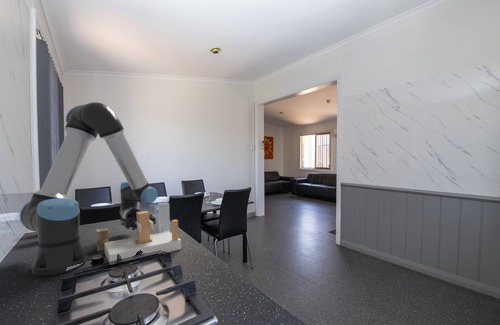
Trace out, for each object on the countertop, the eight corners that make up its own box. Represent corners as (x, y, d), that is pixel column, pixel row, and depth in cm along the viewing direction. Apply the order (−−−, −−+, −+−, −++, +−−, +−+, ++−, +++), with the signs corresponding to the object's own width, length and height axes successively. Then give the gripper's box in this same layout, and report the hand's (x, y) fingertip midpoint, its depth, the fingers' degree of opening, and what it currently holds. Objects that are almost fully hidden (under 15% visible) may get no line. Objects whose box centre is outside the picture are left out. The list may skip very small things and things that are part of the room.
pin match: (139, 243, 98) (138, 213, 98) (137, 241, 101) (136, 212, 101) (149, 241, 100) (149, 212, 100) (147, 239, 104) (146, 210, 103)
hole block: (109, 266, 87) (108, 232, 86) (104, 252, 99) (103, 223, 99) (181, 249, 102) (180, 220, 102) (168, 239, 115) (168, 213, 115)
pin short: (97, 251, 101) (97, 231, 101) (96, 248, 105) (96, 229, 105) (108, 248, 104) (108, 229, 104) (107, 246, 107) (107, 227, 107)
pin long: (161, 238, 117) (160, 204, 117) (159, 236, 120) (158, 203, 120) (170, 236, 119) (169, 203, 119) (167, 234, 123) (166, 202, 122)
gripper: (152, 221, 120) (168, 232, 102) (113, 227, 110) (122, 241, 91) (152, 206, 120) (168, 214, 101) (112, 211, 110) (122, 221, 91)
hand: (146, 227), depth 96 cm, fingers closed on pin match, 4 cm apart
